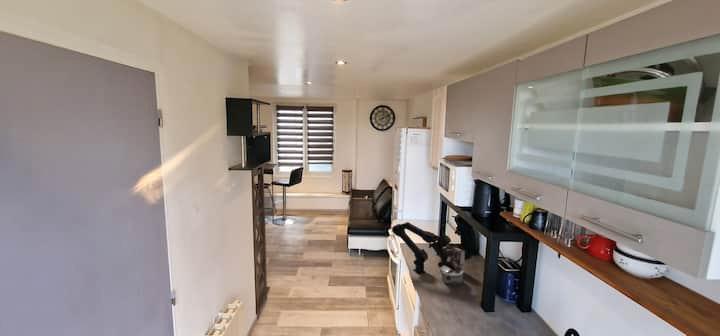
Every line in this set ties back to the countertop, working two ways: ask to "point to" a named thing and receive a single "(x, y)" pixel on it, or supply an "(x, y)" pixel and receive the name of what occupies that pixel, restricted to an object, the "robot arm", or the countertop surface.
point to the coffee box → (459, 258)
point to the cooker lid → (452, 271)
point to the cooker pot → (452, 280)
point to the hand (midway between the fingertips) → (455, 270)
